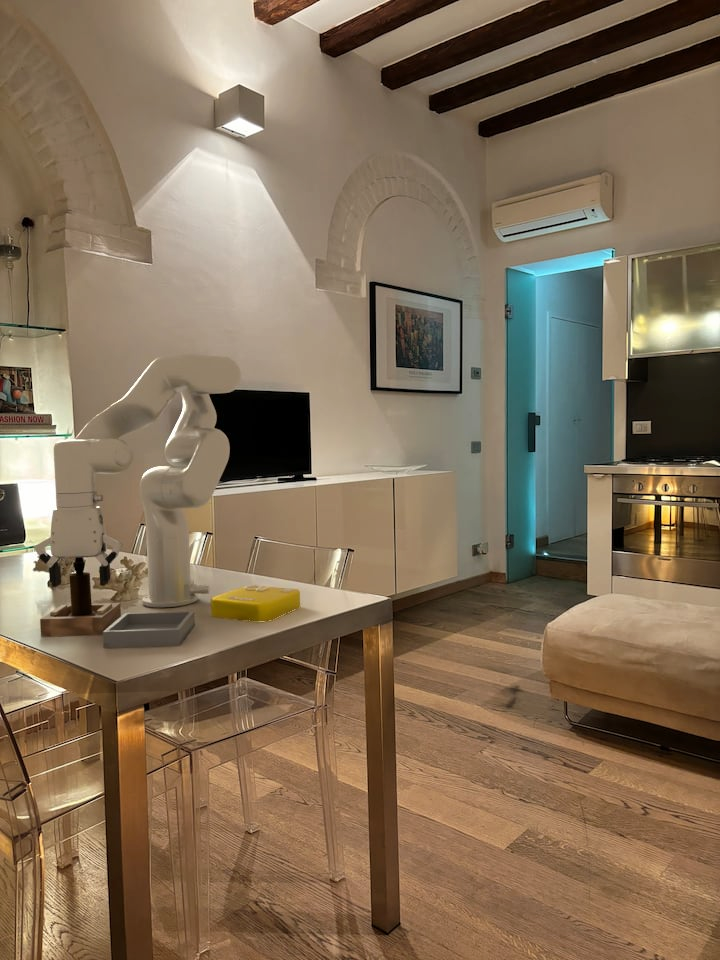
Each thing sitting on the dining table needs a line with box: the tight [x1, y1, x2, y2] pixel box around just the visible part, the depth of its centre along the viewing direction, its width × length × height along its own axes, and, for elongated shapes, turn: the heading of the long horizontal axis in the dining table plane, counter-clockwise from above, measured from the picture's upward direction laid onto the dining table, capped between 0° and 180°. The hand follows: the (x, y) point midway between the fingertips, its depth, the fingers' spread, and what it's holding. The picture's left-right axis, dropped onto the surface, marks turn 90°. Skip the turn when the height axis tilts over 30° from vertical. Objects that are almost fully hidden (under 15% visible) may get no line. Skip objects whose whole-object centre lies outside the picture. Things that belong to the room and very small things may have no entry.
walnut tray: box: [39, 602, 122, 638], centre depth 149 cm, size 12×12×4 cm
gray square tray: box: [102, 610, 196, 649], centre depth 141 cm, size 14×14×3 cm
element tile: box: [210, 584, 301, 622], centre depth 159 cm, size 15×15×5 cm
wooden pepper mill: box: [68, 557, 97, 617], centre depth 149 cm, size 7×6×18 cm
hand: (80, 585), depth 149 cm, fingers open, 9 cm apart
